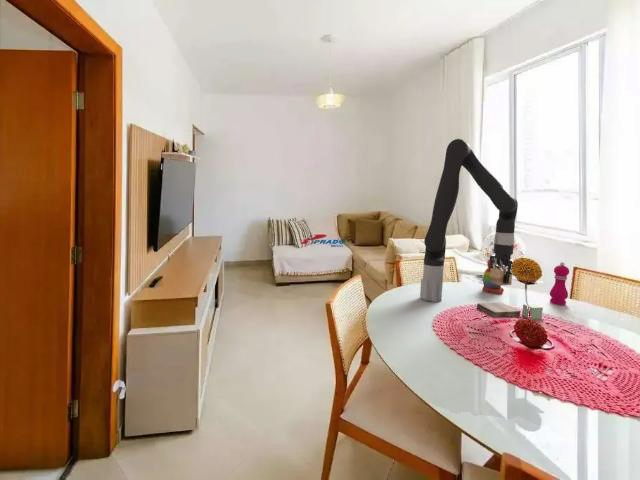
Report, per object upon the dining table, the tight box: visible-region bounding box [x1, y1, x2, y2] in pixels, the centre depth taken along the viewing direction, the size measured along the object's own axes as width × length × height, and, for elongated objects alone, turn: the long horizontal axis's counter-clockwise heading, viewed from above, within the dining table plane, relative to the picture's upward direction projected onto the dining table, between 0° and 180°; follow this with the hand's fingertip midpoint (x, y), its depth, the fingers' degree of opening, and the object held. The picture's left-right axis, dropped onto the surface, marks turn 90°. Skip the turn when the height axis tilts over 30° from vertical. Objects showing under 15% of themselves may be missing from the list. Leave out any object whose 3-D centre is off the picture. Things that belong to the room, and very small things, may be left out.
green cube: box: [521, 303, 544, 320], centre depth 146 cm, size 5×5×5 cm
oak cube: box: [490, 268, 513, 286], centre depth 151 cm, size 6×6×6 cm
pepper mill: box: [549, 261, 570, 306], centre depth 164 cm, size 7×7×20 cm
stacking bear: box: [482, 258, 504, 295], centre depth 184 cm, size 11×10×18 cm
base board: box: [476, 301, 521, 318], centre depth 153 cm, size 12×12×2 cm
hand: (500, 281), depth 151 cm, fingers closed on oak cube, 6 cm apart
